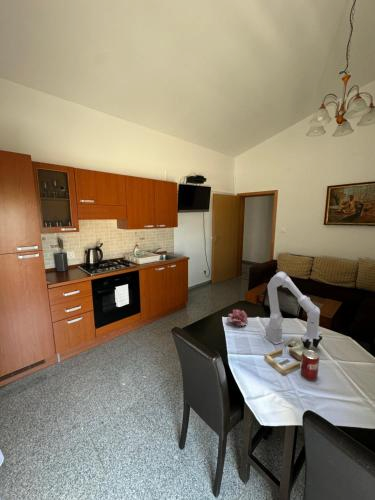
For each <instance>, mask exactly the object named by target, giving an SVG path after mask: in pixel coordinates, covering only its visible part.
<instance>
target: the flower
mask: <svg viewBox="0 0 375 500" xmlns="http://www.w3.org/2000/svg"><path fill="white" fill-rule="evenodd" d="M227 316H228V317H227V318H226V319H227V321H228V322H230V323H232V324H235V325H236V326H239V327H240V328H242V327H245V326H244V325H246V324H247V325H248V324H249V320H248V319H249V318H248V315H247V313H246V312H245V311H244V310H240V309H232V313H228V314H227ZM241 326H242V327H241Z"/></svg>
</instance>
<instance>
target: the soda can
mask: <svg viewBox="0 0 375 500" xmlns="http://www.w3.org/2000/svg"><path fill="white" fill-rule="evenodd" d="M300 363H301V364H300V373H301V376H302V377H303V378H304V379H306V380H308V381H316V380H317V379H318V377H319V376H318V375H319V366H320V365H319V364H320V356H319V354H318V353H317V352H316V351H314V350H310V349H309V350H305V351H303V352H302V360H301V362H300Z"/></svg>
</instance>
